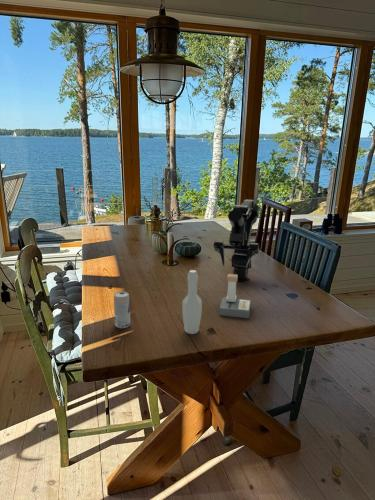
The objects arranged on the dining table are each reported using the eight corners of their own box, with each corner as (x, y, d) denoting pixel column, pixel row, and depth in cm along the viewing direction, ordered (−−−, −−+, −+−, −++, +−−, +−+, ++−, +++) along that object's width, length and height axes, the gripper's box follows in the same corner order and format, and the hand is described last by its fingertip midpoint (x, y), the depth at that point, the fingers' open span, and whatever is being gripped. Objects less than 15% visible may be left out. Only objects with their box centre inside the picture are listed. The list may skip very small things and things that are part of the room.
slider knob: (227, 297, 145) (228, 273, 142) (236, 298, 144) (237, 274, 141) (225, 301, 141) (227, 276, 138) (235, 302, 140) (237, 277, 137)
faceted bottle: (190, 324, 129) (191, 266, 123) (204, 330, 126) (206, 271, 119) (178, 331, 125) (179, 271, 118) (193, 337, 121) (194, 276, 115)
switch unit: (222, 304, 146) (222, 296, 145) (250, 307, 144) (250, 299, 143) (219, 315, 137) (219, 307, 136) (248, 318, 134) (249, 310, 134)
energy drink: (131, 321, 131) (130, 291, 127) (129, 328, 126) (128, 297, 122) (116, 321, 131) (114, 291, 127) (114, 328, 125) (112, 297, 122)
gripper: (214, 223, 148) (209, 258, 143) (259, 225, 144) (257, 261, 139) (217, 233, 159) (213, 267, 153) (259, 236, 155) (257, 270, 149)
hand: (234, 266), depth 149 cm, fingers open, 9 cm apart
